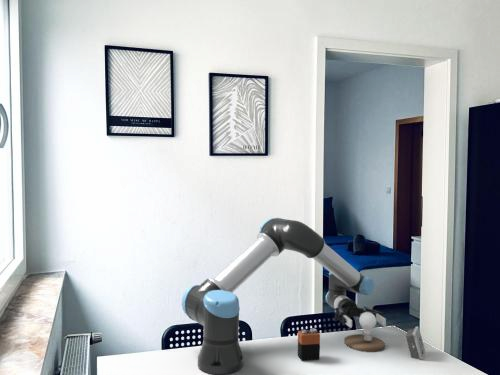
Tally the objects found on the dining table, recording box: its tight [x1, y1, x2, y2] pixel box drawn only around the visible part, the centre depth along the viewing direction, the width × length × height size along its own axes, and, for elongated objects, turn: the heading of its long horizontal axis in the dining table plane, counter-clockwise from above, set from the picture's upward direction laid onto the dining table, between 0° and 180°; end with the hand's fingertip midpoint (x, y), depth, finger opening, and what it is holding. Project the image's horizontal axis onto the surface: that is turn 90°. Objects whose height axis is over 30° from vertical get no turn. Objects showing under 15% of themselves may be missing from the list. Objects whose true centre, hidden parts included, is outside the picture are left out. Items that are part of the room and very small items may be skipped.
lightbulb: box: [358, 312, 377, 342], centre depth 162 cm, size 6×6×11 cm
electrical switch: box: [405, 326, 426, 361], centre depth 153 cm, size 9×5×9 cm, turn 152°
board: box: [344, 333, 386, 353], centre depth 162 cm, size 15×15×1 cm
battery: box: [297, 327, 321, 362], centre depth 148 cm, size 4×7×10 cm, turn 102°
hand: (368, 323), depth 160 cm, fingers open, 13 cm apart
